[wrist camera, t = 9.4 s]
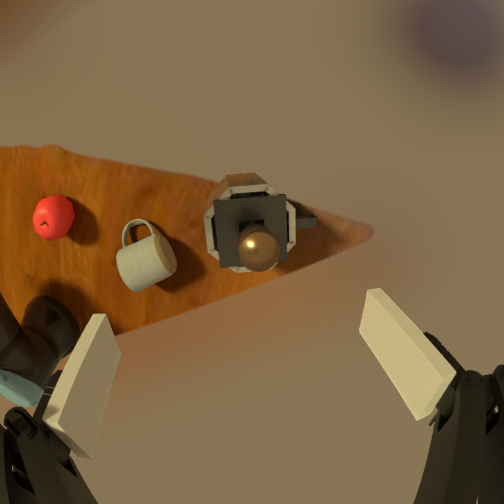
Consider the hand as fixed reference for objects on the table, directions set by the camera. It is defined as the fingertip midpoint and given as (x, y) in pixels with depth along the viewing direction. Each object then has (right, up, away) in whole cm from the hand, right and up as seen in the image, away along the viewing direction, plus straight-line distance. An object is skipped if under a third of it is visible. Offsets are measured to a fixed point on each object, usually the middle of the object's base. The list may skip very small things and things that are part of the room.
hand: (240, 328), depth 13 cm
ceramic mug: (-18, +5, +33) cm, 38 cm away
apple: (-34, +11, +28) cm, 45 cm away
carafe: (+1, +11, +32) cm, 34 cm away
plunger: (-1, +10, +30) cm, 32 cm away
